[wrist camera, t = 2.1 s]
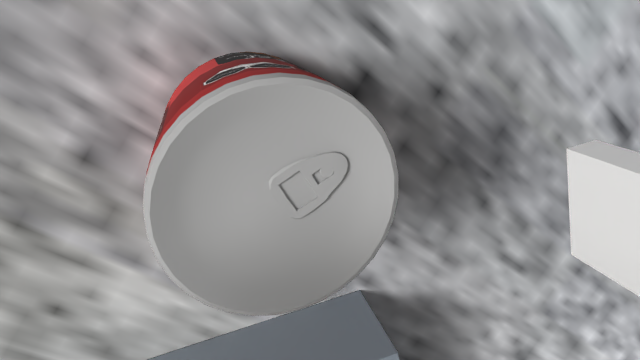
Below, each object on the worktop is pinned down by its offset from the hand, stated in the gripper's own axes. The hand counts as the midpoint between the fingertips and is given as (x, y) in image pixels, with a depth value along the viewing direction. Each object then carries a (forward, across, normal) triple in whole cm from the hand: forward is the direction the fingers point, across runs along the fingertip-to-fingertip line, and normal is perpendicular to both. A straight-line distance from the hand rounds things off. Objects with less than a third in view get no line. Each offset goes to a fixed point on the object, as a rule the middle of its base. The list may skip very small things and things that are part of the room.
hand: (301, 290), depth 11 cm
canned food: (+16, 0, 0) cm, 16 cm away
